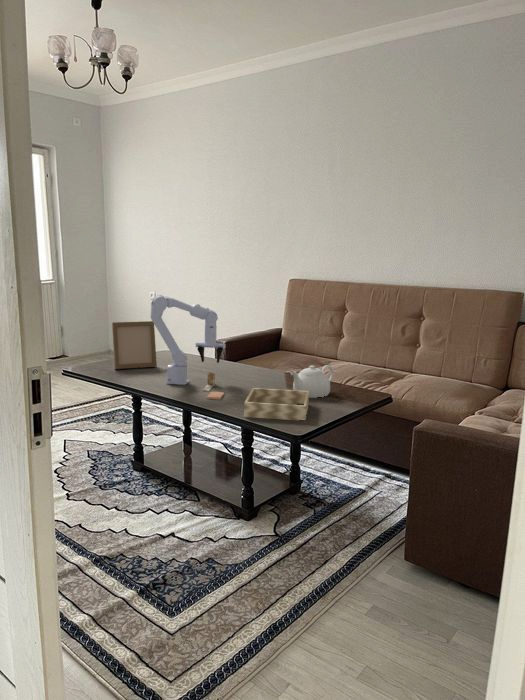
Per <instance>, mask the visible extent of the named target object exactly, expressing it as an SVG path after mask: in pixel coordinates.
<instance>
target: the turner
mask: <svg viewBox="0 0 525 700" xmlns="http://www.w3.org/2000/svg"><path fill="white" fill-rule="evenodd" d="M215 385H216V372H213V371H212V372H207V385H205V387H204V388H203V389H202V392H208V393H210V392H211V390H212V389H213V387H214V386H215Z"/></svg>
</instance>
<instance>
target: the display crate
mask: <svg viewBox="0 0 525 700" xmlns="http://www.w3.org/2000/svg"><path fill="white" fill-rule="evenodd" d="M309 399H310V398H309V391H297V390H293V389H278V388H277V389H276V388H259V387H252V389H251V390H250V392H249V394H248V395H247V397H246V399H245V401H244V403H243V407H244V408H243V417H244V418H251V419H252V418H253V419H256V418H257V419H271V420H272V419H273V420H286V421H287V420H288V421H299V420H306V421H307V416H306V415H307V414H308V409H309V403H310V402H309V401H310V400H309ZM297 404H304V405H297Z"/></svg>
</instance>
